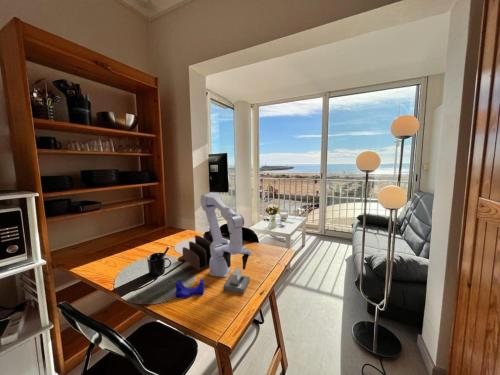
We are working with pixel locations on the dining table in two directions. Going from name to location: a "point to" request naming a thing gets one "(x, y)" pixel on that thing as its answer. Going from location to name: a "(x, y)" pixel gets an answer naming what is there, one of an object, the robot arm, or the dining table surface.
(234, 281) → the long block
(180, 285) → the blue concave cradle block
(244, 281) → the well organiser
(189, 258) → the letter holder
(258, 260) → the dining table surface
